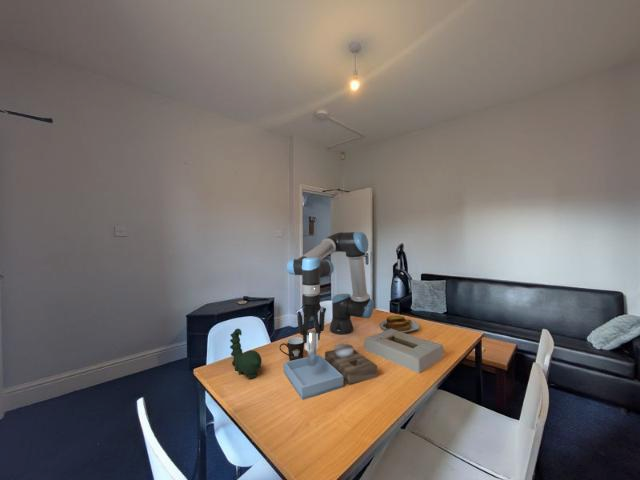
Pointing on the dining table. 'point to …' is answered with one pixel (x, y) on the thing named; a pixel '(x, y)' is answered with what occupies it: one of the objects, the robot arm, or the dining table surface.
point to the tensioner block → (351, 364)
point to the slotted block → (405, 349)
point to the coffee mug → (294, 348)
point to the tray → (312, 377)
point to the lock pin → (312, 348)
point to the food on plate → (399, 324)
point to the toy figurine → (244, 357)
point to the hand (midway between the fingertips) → (311, 348)
